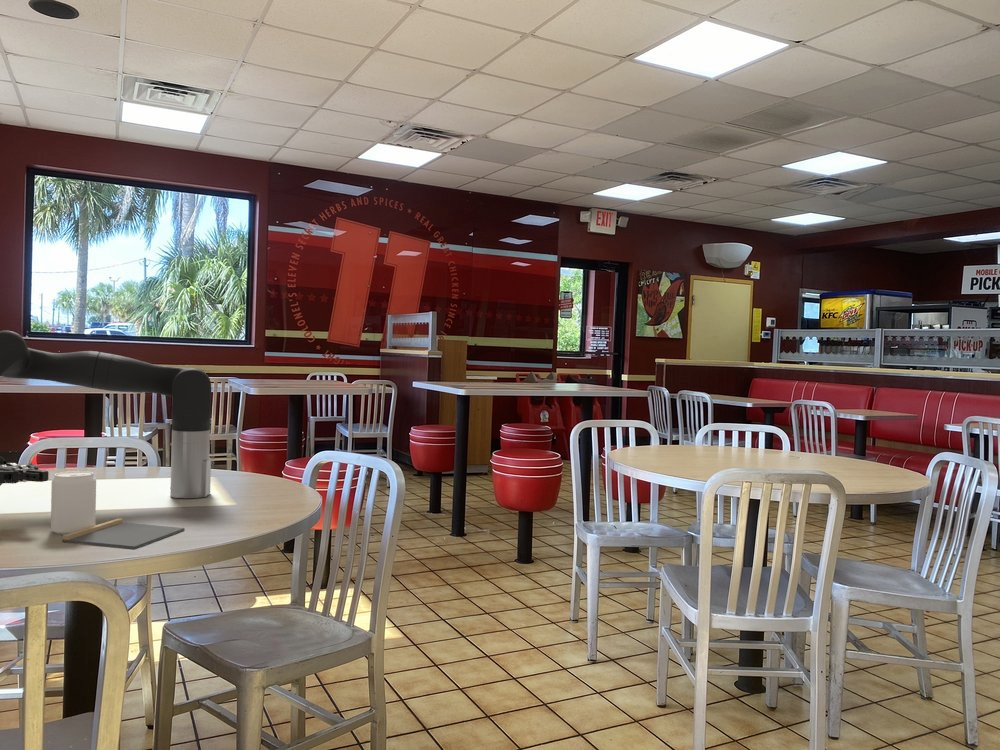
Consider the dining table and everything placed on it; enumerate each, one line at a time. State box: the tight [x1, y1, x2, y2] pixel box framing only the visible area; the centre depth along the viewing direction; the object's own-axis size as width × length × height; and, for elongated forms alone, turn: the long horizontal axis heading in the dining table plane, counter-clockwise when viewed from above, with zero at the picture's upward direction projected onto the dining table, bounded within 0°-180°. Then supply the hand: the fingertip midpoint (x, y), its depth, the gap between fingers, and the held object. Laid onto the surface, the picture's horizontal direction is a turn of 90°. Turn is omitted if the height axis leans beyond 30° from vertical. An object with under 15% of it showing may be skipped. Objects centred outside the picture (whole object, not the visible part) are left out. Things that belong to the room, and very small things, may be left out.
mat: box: [62, 517, 186, 550], centre depth 157 cm, size 16×16×1 cm
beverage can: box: [50, 470, 97, 535], centre depth 159 cm, size 8×8×12 cm
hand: (45, 476), depth 160 cm, fingers closed
